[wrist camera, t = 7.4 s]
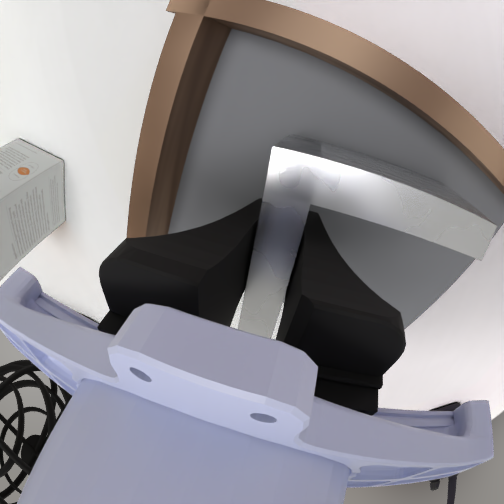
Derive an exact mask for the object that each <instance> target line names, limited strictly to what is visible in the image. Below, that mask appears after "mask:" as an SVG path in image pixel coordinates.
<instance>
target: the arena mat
mask: <svg viewBox="0 0 504 504" xmlns="http://www.w3.org/2000/svg"><path fill="white" fill-rule="evenodd" d="M289 135H295V136H300V137H304V138H308V139H312V140H316V141H320V142H324V143H327V144H331V145H335V146H338V147H342V148H345V149H349V150H352V151H355V152H358V153H362V154H365V155H368V156H371V157H374V158H377V159H380V160H383V161H386V162H388V163H391V164H394V165H397V166H399V167H402V168H405V169H407V170H410V171H412V172H415V173H418V174H420V175H422V176H425V177H427V178H430V179H432V180H434V181H437V182H439V183H441V184H443V185H446V186H447V187H448V188H450V189H451V190H453V191H454V192H455V193H457V194H458V195H459V196H461V197H462V198H464V199H465V200H466V201H467V202H469V203H470V204H471V205H473V206H474V207H475V208H476V209H478V210H479V211H480V212H481V213H483V214H484V215H485V216H486V217H487V218H489V219H490V220H491V221H492V222H493V223H494V224H496V225H497V228H496V230H495V232H494V235H495V234H496V233H497V231H498V230H499V229H500V227H501V226H502V225H503V223H504V194H503V193H502V192H501V191H500V190H499V189H498V187H497V186H496V185H495V184H494V183H493V182H492V181H491V180H490V179H489V178H488V177H487V176H486V174H485V173H484V172H483V171H482V170H481V169H480V168H479V167H478V166H477V165H476V164H475V163H474V162H473V161H471V160H470V159H469V158H468V157H467V156H466V155H465V154H464V153H463V152H462V151H461V150H460V149H459V148H457V147H456V146H455V145H454V144H453V143H452V142H451V141H449V140H448V139H447V138H446V137H445V136H443V135H442V134H441V133H440V132H438V131H437V130H436V129H435V128H433V127H432V126H431V125H430V124H428V123H427V122H426V121H424V120H423V119H422V118H420V117H419V116H418V115H416V114H415V113H413V112H412V111H411V110H409V109H408V108H406V107H405V106H403V105H402V104H400V103H399V102H397V101H396V100H394V99H393V98H391V97H390V96H388V95H386V94H385V93H383V92H382V91H380V90H378V89H377V88H375V87H373V86H371V85H370V84H368V83H366V82H364V81H363V80H361V79H359V78H357V77H355V76H353V75H352V74H350V73H348V72H346V71H344V70H342V69H340V68H338V67H336V66H334V65H332V64H329V63H327V62H325V61H323V60H321V59H318V58H316V57H314V56H312V55H309V54H307V53H304V52H302V51H299V50H297V49H294V48H292V47H289V46H286V45H284V44H281V43H278V42H275V41H272V40H269V39H266V38H263V37H260V36H257V35H253V34H250V33H246V32H243V31H239V30H235V29H231V31H230V33H229V36H228V38H227V41H226V43H225V45H224V48H223V50H222V53H221V55H220V58H219V61H218V63H217V66H216V68H215V71H214V74H213V76H212V79H211V82H210V85H209V88H208V90H207V93H206V96H205V99H204V102H203V105H202V108H201V111H200V114H199V117H198V120H197V124H196V127H195V130H194V133H193V137H192V140H191V143H190V147H189V150H188V154H187V157H186V161H185V165H184V168H183V172H182V176H181V180H180V184H179V188H178V192H177V196H176V200H175V204H174V208H173V213H172V217H171V222H170V226H169V231H168V234H172V233H177V232H182V231H185V230H189V229H193V228H197V227H200V226H203V225H206V224H209V223H212V222H215V221H217V220H219V219H222V218H224V217H226V216H228V215H230V214H232V213H234V212H236V211H238V210H240V209H242V208H243V207H245V206H247V205H249V204H250V203H252V202H254V201H256V200H257V199H259V198H261V199H263V194H264V189H265V184H266V179H267V173H268V168H269V163H270V157H271V152H272V147H273V146H274V145H276V144H277V143H279V142H280V141H282V140H283V139H285V138H286V137H288V136H289ZM309 211H313V212H316V213H318V214H319V215H320V218H321V220H322V222H323V225H324V227H325V229H326V231H327V233H328V235H329V237H330V239H331V241H332V243H333V244H334V246H335V248H336V249H337V251H338V252H339V254H340V255H341V257H342V258H343V259H344V260H345V262H346V263H347V264H348V266H349V267H350V268H351V269H352V270H353V272H354V273H355V274H356V275H357V276H358V277H359V278H360V279H361V280H362V281H363V282H364V283H365V284H366V285H367V286H368V287H369V288H370V289H371V290H373V291H374V292H375V293H376V294H377V295H378V296H380V297H381V298H382V299H383V300H385V301H386V302H387V303H389V304H390V305H391V306H393V307H394V308H396V309H397V310H398V311H400V312H401V316H402V320H403V325H404V329H405V328H407V327H408V326H409V325H410V324H411V323H412V322H414V321H415V320H416V319H417V318H418V317H419V316H420V315H421V314H422V313H424V312H425V311H426V310H427V309H428V308H429V307H430V306H431V305H432V304H433V303H434V302H435V301H436V300H437V299H438V298H439V297H440V296H441V295H442V294H443V293H444V292H445V291H446V290H447V289H448V288H449V287H450V286H451V285H452V284H453V283H454V282H455V281H456V280H457V279H458V278H459V277H460V276H461V275H462V274H463V272H464V271H465V270H466V269H467V268H468V267H469V266H470V265H471V263H472V262H473V261H474V260H475V259H476V258H473V257H471V256H468V255H466V254H463V253H461V252H458V251H455V250H453V249H450V248H447V247H445V246H442V245H439V244H437V243H434V242H431V241H428V240H425V239H423V238H420V237H417V236H414V235H411V234H408V233H405V232H402V231H399V230H396V229H393V228H390V227H387V226H384V225H381V224H377V223H374V222H371V221H368V220H364V219H361V218H358V217H354V216H351V215H348V214H344V213H341V212H337V211H334V210H330V209H327V208H323V207H319V206H316V205H312V204H310V208H309ZM494 235H493V237H494ZM493 237H492V238H493ZM285 294H286V292H285ZM284 301H285V296H284V299H283V303H284Z"/></svg>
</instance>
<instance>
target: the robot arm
mask: <svg viewBox="0 0 504 504" xmlns="http://www.w3.org/2000/svg"><path fill="white" fill-rule="evenodd" d="M262 200H263V199H261V198H259V199H257V200H256V201H254V202H252V203H250V204H249V205H247V206H245V207H243V208H242V209H240V210H238V211H236V212H234V213H232V214H230V215H228V216H226V217H224V218H222V219H219V220H217V221H215V222H212V223H209V224H206V225H203V226H200V227H197V228H193V229H189V230H185V231H182V232H177V233H172V234H166V235H159V236H151V237H137V238H126V239H125V240H124V241H123V242H122V243H121V244H120V245H119V246H118V247H117V248H116V249H115V250H114V251H113V252H112V253H111V254H110V255H109V256H108V257H107V258H106V259H105V260H104V261H103V262H102V264H101V266H100V269H99V278H100V283H101V286H102V289H103V292H104V295H105V298H106V301H107V304H108V306H109V309H110V311H109V312H108V313H107V315H106V316H105V317H104V319H103V320H102V321H101V323H100V324H98V323H96V322H94V321H92V320H90V319H88V318H87V317H85V316H83V315H81V314H79V313H77V312H76V311H74V310H72V309H70V308H69V307H67V306H65V305H63V304H62V303H60V302H58V301H57V300H55V299H53V298H52V297H50V296H48V295H47V294H45V293H44V292H42V288H41V286H40V284H39V282H38V280H37V279H36V278H35V276H34V275H32V274H31V273H29V272H28V271H26V270H25V269H23V268H21V267H19V268H18V269H17V270H16V271H15V272H14V273H13V274H12V275H11V276H10V277H9V278H8V279H7V280H6V281H5V282H4V283H3V284H2V285H1V286H0V329H1V330H2V332H3V333H4V335H5V336H6V337H7V339H8V340H9V341H10V342H11V344H12V345H13V346H14V347H16V348H17V349H18V350H19V351H20V352H21V353H22V354H23V355H24V356H25V357H26V358H28V359H29V360H30V361H31V362H32V363H33V364H34V365H35V366H36V367H38V368H39V369H40V370H41V371H42V372H44V373H45V374H46V375H47V376H48V377H49V378H50V379H52V380H53V381H54V382H55V383H57V384H58V385H59V386H60V387H62V388H63V389H64V390H66V391H67V392H68V393H69V394H71V395H72V398H71V399H70V401H69V403H68V404H67V406H66V408H65V410H64V411H63V413H62V415H61V416H60V418H59V420H58V422H57V423H56V425H55V427H54V429H53V431H52V432H51V434H50V436H49V438H48V440H47V442H46V443H45V445H44V447H43V449H42V451H41V453H40V455H39V457H38V459H37V461H36V463H35V465H34V467H33V469H32V471H31V473H30V475H29V477H28V479H27V482H26V484H25V486H24V488H23V490H22V493H21V495H20V498H19V500H18V502H17V504H343V502H344V498H345V493H346V488H348V487H377V486H389V485H399V484H408V483H415V482H421V481H428V480H434V479H440V478H445V477H449V476H452V475H455V474H458V473H460V472H463V471H465V470H468V469H470V468H472V467H475V466H477V465H479V464H482V463H484V462H486V461H488V460H490V459H492V458H493V457H494V451H493V450H494V448H493V433H492V423H491V414H490V407H489V401H487V400H477V401H468V402H466V403H464V404H462V405H460V406H459V407H458V408H456V409H455V410H454V411H415V410H398V409H386V408H378V389H380V388H382V385H383V374H384V373H385V372H386V371H387V370H388V369H389V368H390V367H391V366H392V365H393V364H394V363H395V362H396V361H397V360H398V359H399V358H400V356H401V355H402V353H403V352H404V349H405V346H406V341H405V332H404V325H403V320H402V316H401V312H400V311H398V310H397V309H396V308H394V307H393V306H391V305H390V304H389V303H387V302H386V301H385V300H383V299H382V298H381V297H380V296H378V295H377V294H376V293H375V292H374V291H373V290H371V289H370V288H369V287H368V286H367V285H366V284H365V283H364V282H363V281H362V280H361V279H360V278H359V277H358V276H357V275H356V274H355V273H354V272H353V270H352V269H351V268H350V267H349V266H348V264H347V263H346V262H345V260H344V259H343V258H342V257H341V255H340V254H339V252H338V251H337V249H336V248H335V246H334V244H333V243H332V241H331V239H330V237H329V235H328V233H327V231H326V229H325V227H324V225H323V222H322V220H321V218H320V215H319V214H318V213H316V212H313V211H309V212H308V215H307V219H306V223H305V226H304V230H303V234H302V237H301V241H300V245H299V248H298V252H297V255H296V259H295V262H294V266H293V269H292V272H291V276H290V279H289V282H288V286H287V289H286V294H285V301H284V308H283V313H282V318H281V322H280V326H279V330H278V333H277V337H276V340H274V339H270V338H267V337H263V336H259V335H256V334H252V333H249V332H245V331H242V330H238V329H235V328H232V327H230V325H231V322H232V319H233V317H234V314H235V311H236V308H237V306H238V303H239V301H240V299H241V296H242V294H243V292H244V290H245V288H246V284H247V278H248V273H249V268H250V263H251V257H252V252H253V247H254V242H255V236H256V231H257V226H258V221H259V215H260V210H261V205H262Z"/></svg>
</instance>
